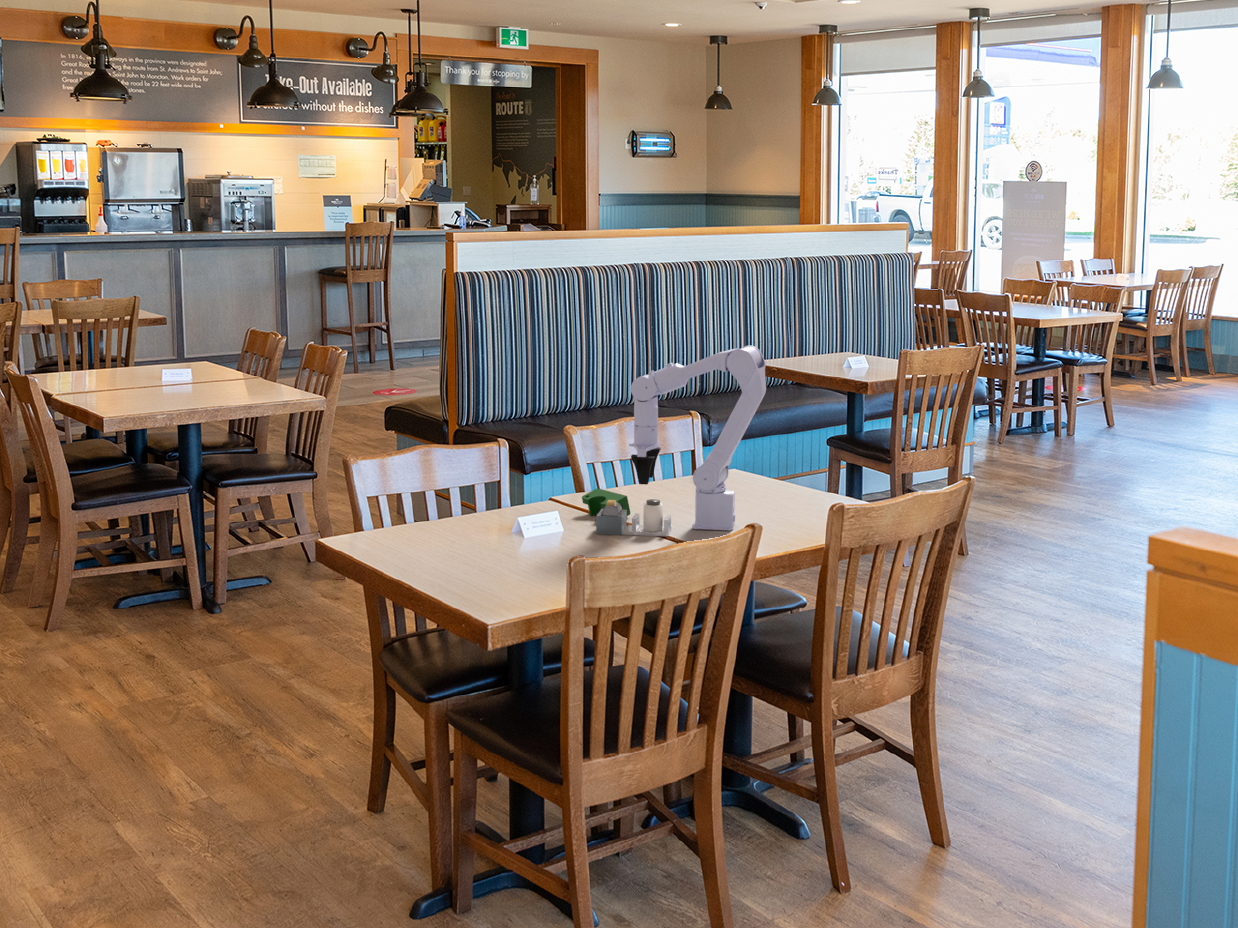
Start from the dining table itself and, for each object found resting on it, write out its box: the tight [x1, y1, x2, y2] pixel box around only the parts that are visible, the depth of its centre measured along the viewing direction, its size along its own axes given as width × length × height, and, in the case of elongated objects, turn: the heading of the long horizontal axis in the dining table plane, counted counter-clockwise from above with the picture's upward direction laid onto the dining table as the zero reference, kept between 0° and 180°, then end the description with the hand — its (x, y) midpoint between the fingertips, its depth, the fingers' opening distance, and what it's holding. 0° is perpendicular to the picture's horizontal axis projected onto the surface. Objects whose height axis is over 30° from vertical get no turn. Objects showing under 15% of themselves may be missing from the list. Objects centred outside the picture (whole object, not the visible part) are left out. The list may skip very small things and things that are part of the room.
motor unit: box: [595, 500, 672, 537], centre depth 287 cm, size 17×7×7 cm, turn 80°
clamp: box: [581, 488, 631, 517], centre depth 302 cm, size 12×6×9 cm, turn 35°
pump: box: [642, 498, 664, 531], centre depth 287 cm, size 4×4×7 cm
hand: (645, 480), depth 297 cm, fingers open, 7 cm apart
